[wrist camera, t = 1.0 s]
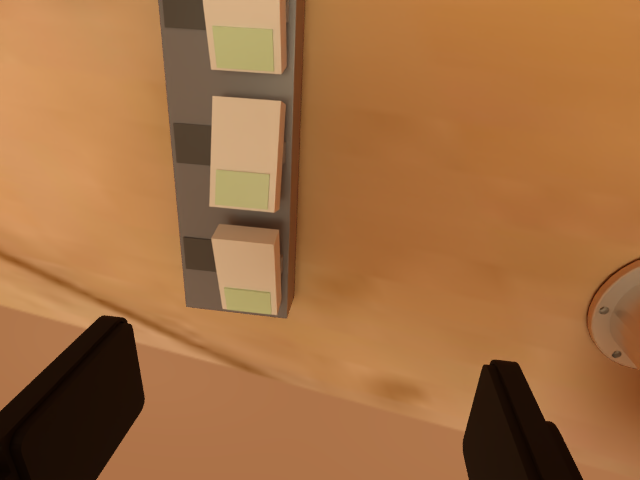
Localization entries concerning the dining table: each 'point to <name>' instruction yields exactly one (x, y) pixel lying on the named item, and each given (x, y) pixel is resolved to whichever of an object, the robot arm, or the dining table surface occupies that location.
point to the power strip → (195, 145)
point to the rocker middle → (246, 153)
